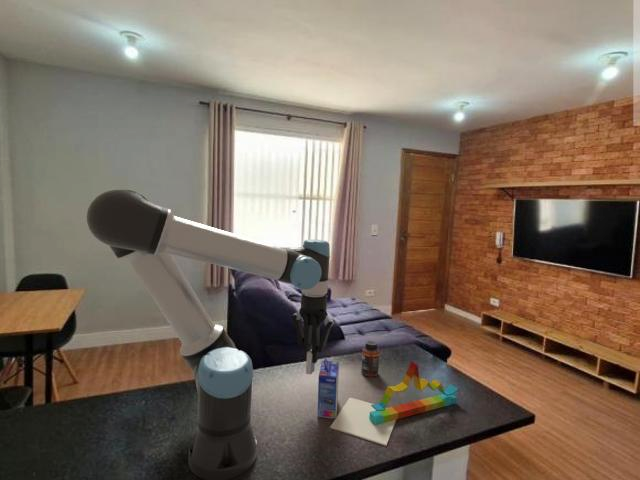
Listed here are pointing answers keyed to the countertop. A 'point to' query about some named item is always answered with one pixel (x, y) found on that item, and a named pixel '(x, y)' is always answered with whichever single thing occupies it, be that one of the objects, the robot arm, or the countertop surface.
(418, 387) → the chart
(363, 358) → the supplement bottle
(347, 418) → the plain beige panel
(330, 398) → the ink cartridge box
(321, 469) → the countertop surface
